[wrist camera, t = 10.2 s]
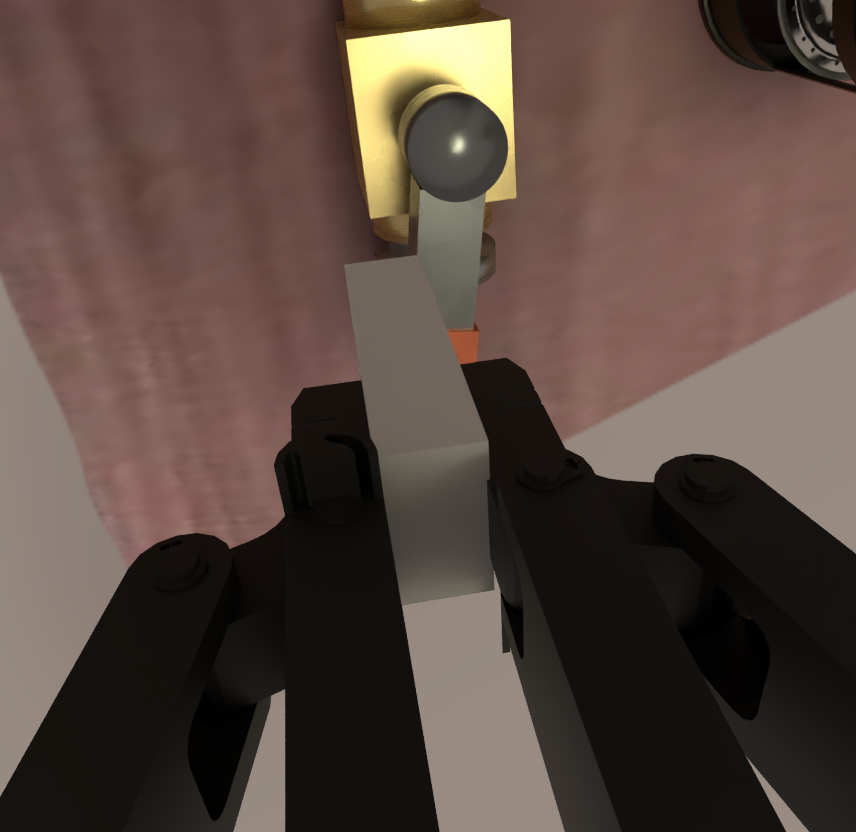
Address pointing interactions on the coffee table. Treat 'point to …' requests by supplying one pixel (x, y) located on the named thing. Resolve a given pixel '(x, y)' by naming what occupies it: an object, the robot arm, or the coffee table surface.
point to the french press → (792, 39)
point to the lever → (451, 197)
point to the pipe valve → (408, 76)
